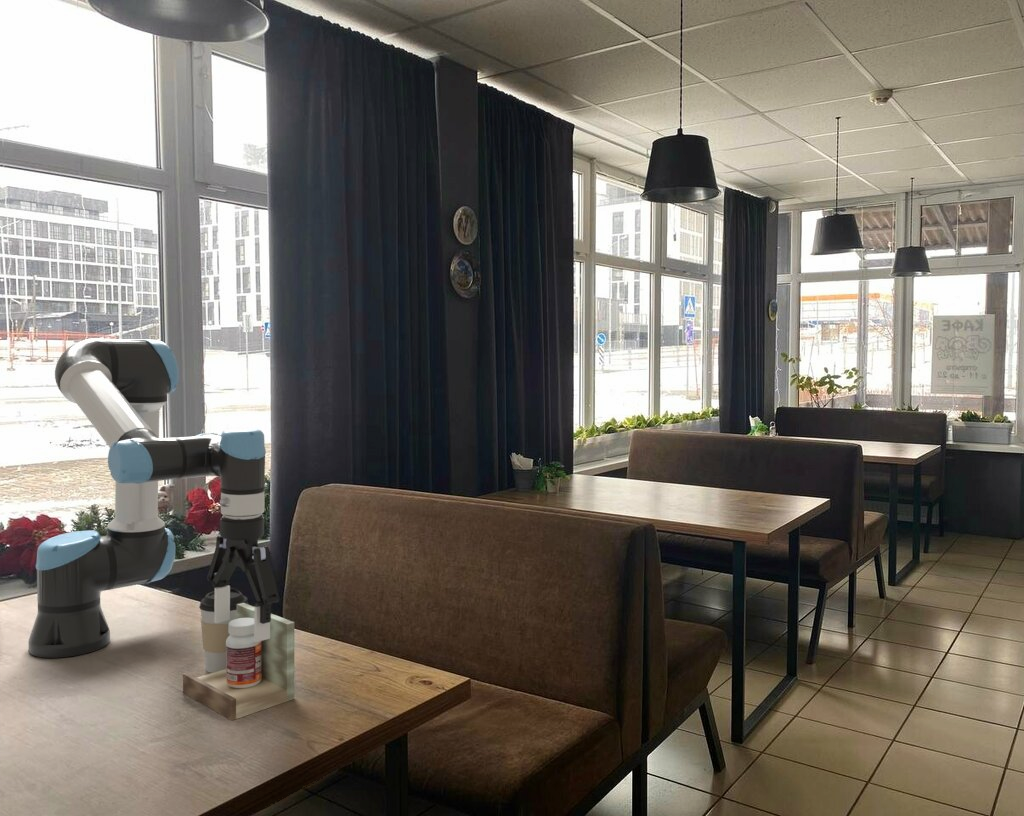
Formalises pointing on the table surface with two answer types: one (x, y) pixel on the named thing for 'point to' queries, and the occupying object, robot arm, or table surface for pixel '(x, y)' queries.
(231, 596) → the coffee cup
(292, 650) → the wooden l-shaped piece
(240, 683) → the pill bottle
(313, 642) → the table surface
